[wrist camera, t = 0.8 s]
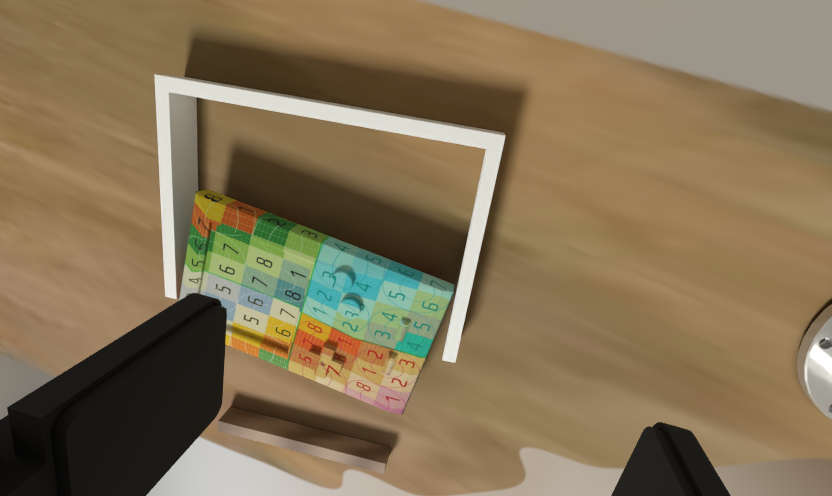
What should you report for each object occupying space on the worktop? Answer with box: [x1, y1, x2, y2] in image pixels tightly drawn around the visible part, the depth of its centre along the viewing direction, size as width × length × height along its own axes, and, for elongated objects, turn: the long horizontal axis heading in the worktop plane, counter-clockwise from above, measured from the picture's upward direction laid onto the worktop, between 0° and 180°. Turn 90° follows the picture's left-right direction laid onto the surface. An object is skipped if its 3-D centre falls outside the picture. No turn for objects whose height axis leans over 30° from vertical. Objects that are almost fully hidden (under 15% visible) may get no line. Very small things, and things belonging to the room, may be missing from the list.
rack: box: [155, 74, 506, 363], centre depth 32 cm, size 24×17×3 cm
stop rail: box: [218, 407, 390, 474], centre depth 40 cm, size 16×1×2 cm, turn 81°
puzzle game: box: [179, 189, 456, 415], centre depth 34 cm, size 12×5×20 cm
